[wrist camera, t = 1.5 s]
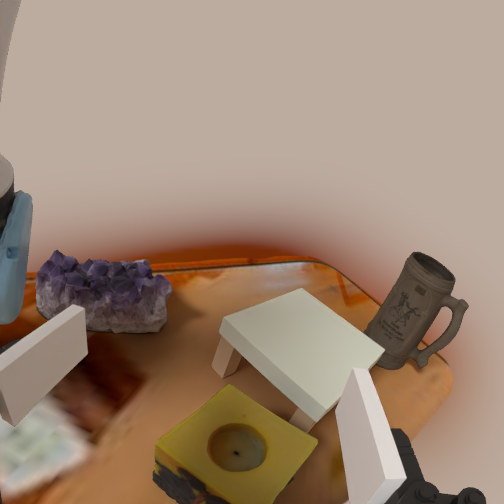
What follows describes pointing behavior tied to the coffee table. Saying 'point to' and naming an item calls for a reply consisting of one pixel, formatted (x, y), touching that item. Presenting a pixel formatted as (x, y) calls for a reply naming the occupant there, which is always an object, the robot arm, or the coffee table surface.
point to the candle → (230, 453)
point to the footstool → (296, 351)
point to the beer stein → (415, 312)
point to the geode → (104, 293)
